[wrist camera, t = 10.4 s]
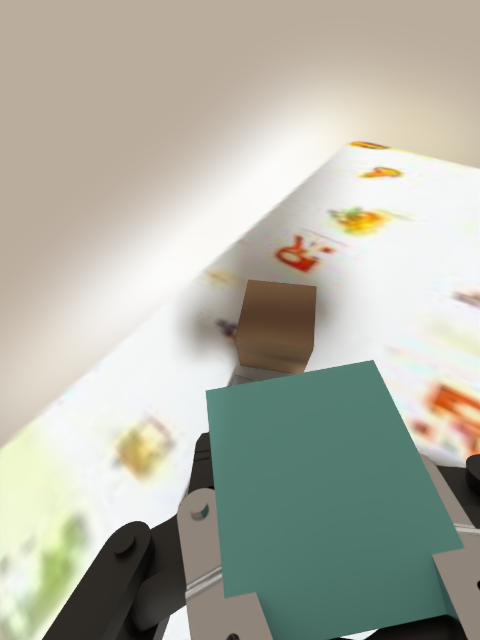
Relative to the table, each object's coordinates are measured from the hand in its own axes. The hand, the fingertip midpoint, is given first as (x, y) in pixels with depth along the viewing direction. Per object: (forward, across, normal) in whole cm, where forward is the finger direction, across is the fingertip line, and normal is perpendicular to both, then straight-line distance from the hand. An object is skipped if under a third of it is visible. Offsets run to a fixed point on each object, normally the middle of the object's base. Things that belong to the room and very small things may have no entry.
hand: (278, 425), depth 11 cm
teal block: (+2, 0, +4) cm, 5 cm away
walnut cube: (+10, -2, 0) cm, 11 cm away
